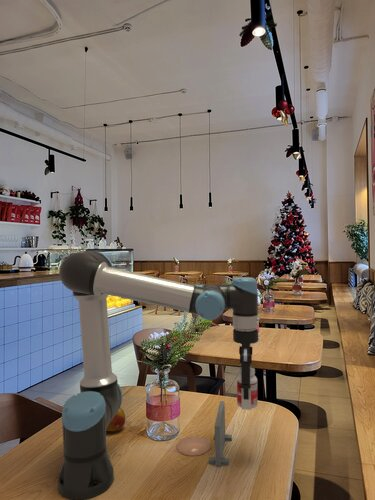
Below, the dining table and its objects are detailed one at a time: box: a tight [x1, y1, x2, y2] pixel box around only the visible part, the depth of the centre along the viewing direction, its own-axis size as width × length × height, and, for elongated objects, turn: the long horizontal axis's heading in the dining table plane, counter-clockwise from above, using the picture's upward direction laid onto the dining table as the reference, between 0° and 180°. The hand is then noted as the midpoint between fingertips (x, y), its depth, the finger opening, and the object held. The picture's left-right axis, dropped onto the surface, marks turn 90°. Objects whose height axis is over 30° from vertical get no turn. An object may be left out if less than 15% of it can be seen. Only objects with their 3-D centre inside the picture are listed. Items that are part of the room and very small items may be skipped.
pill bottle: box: [236, 366, 259, 410], centre depth 115 cm, size 6×6×11 cm
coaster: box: [176, 435, 212, 457], centre depth 123 cm, size 11×11×1 cm
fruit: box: [106, 407, 126, 432], centre depth 137 cm, size 10×9×8 cm
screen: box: [208, 400, 233, 468], centre depth 121 cm, size 18×6×12 cm, turn 170°
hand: (246, 404), depth 115 cm, fingers closed on pill bottle, 6 cm apart
